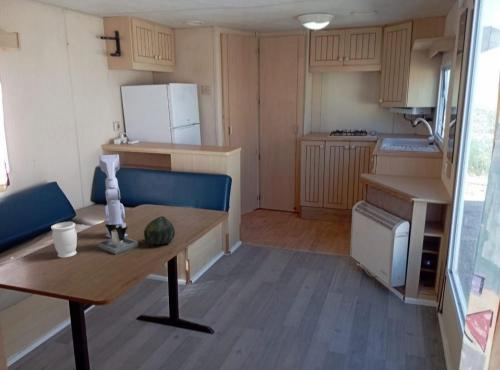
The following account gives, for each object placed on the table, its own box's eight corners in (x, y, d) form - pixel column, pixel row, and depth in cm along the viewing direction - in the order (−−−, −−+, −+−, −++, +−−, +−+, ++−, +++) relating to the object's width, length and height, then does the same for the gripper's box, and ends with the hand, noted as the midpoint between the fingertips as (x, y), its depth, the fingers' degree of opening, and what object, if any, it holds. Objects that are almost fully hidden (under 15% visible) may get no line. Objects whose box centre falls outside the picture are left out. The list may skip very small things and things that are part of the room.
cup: (110, 246, 199) (109, 230, 197) (119, 243, 202) (118, 228, 201) (116, 248, 196) (114, 232, 194) (125, 245, 199) (123, 230, 197)
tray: (98, 247, 199) (98, 242, 199) (121, 240, 209) (121, 235, 208) (115, 254, 190) (114, 249, 189) (138, 246, 199) (137, 241, 199)
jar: (83, 251, 194) (80, 222, 191) (68, 260, 185) (63, 229, 181) (66, 249, 198) (62, 220, 194) (50, 257, 188) (45, 227, 185)
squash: (138, 231, 206) (144, 214, 196) (164, 225, 215) (172, 209, 205) (147, 254, 199) (154, 238, 189) (174, 248, 208) (182, 232, 198)
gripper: (99, 212, 197) (102, 237, 200) (115, 217, 188) (118, 244, 191) (112, 208, 202) (115, 234, 205) (128, 213, 193) (131, 240, 196)
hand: (117, 238), depth 198 cm, fingers open, 7 cm apart
